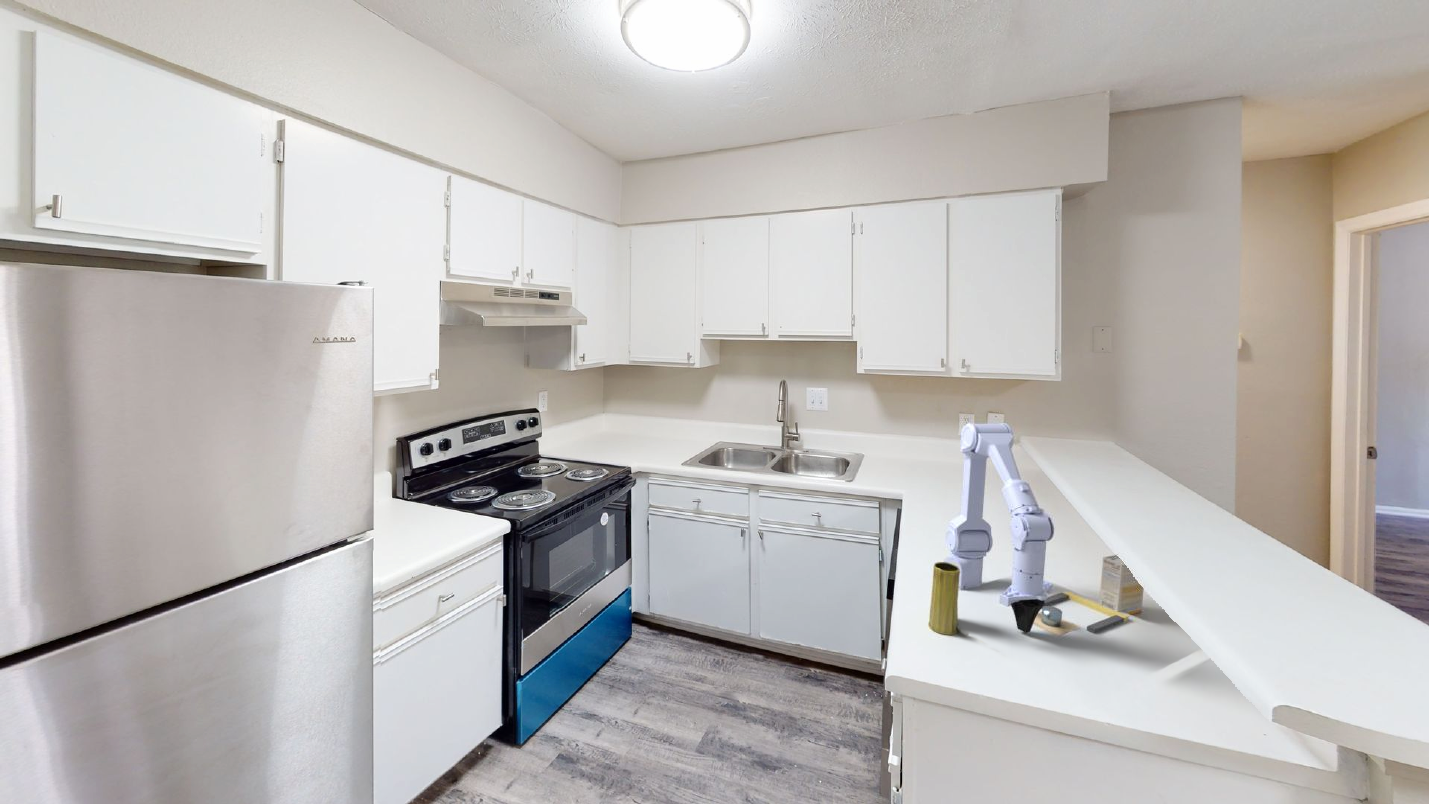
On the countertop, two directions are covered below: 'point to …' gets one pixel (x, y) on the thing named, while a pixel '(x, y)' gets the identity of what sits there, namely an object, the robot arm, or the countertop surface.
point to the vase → (944, 598)
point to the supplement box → (1119, 587)
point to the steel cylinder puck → (1051, 616)
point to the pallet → (1056, 631)
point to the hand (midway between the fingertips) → (1023, 630)
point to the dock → (1098, 626)
